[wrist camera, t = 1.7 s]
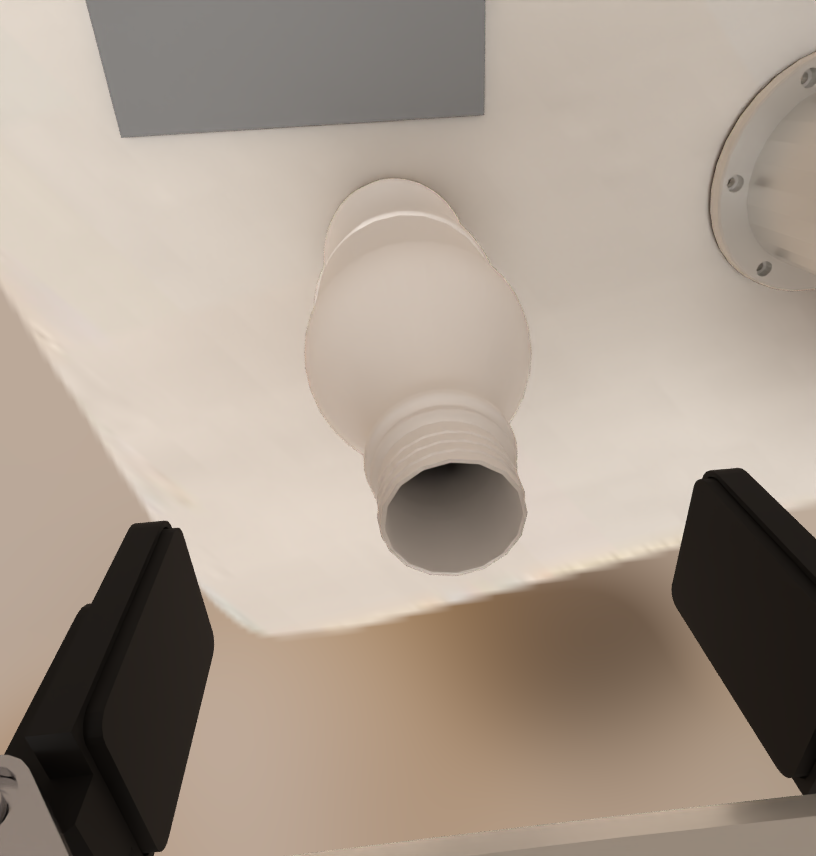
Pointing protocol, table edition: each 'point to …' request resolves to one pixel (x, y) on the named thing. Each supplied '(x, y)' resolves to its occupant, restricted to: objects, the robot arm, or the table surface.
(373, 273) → the water bottle
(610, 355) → the table surface
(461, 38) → the board
